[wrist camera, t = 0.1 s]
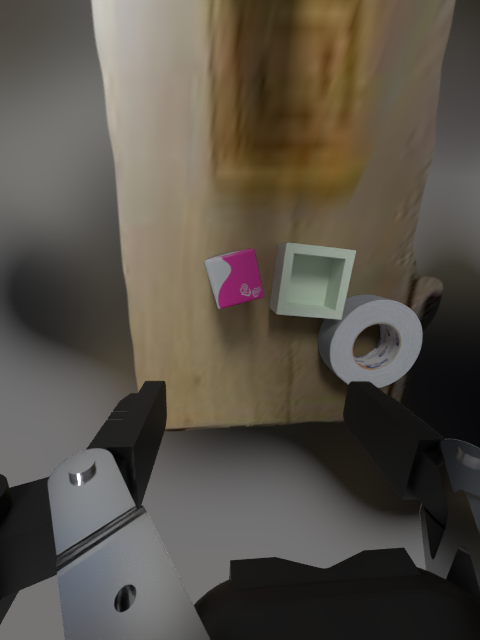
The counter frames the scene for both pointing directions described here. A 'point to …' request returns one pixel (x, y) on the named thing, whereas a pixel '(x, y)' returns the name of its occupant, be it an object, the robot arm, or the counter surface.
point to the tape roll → (391, 351)
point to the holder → (311, 280)
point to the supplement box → (234, 278)
